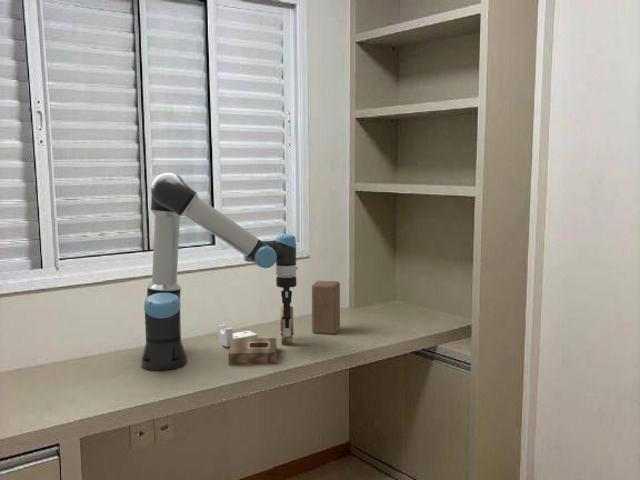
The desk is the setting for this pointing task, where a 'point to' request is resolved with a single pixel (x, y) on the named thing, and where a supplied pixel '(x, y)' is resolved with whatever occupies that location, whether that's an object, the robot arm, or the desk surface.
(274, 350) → the seat board
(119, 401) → the desk surface
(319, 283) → the wooden block
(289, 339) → the oak peg
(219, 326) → the bracket
